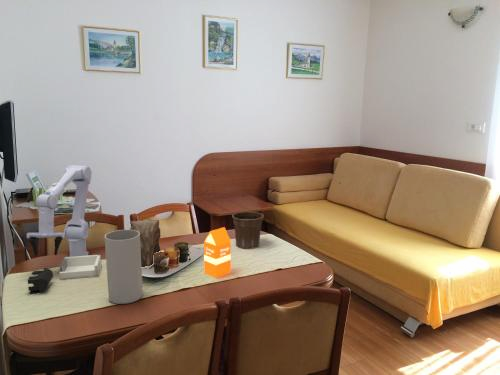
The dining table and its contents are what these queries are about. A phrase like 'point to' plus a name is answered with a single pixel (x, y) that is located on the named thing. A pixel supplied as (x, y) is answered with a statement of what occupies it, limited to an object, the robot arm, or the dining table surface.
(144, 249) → the brown rough block
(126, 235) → the cylinder vase
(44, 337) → the dining table surface
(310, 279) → the dining table surface
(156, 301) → the dining table surface
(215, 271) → the orange juice
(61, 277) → the white open tray
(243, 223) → the plant pot
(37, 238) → the robot arm
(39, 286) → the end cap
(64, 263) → the side door
